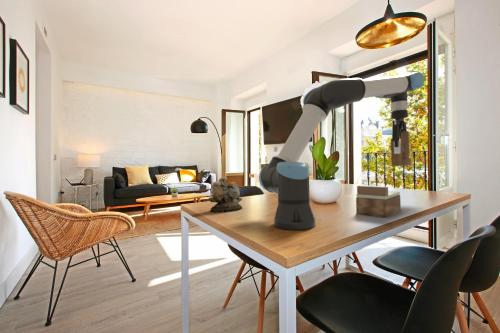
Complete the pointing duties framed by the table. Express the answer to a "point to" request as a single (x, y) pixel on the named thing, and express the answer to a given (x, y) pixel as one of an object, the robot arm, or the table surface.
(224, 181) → the owl figurine
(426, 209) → the table surface
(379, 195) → the lid
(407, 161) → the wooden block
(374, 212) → the toolbox
